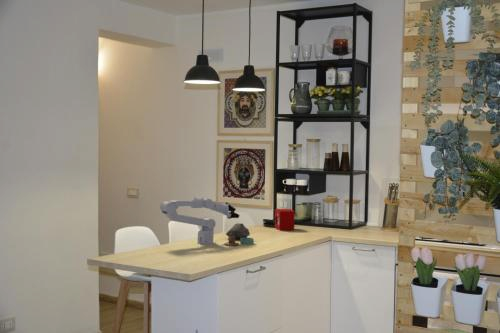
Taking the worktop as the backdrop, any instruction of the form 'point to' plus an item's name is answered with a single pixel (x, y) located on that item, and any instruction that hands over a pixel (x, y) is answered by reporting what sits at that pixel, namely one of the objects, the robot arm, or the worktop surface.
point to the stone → (238, 231)
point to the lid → (231, 242)
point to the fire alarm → (284, 219)
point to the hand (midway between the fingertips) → (236, 213)
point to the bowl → (246, 241)
